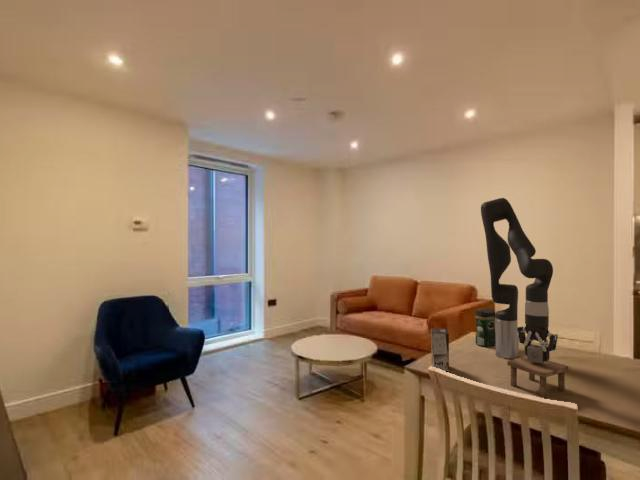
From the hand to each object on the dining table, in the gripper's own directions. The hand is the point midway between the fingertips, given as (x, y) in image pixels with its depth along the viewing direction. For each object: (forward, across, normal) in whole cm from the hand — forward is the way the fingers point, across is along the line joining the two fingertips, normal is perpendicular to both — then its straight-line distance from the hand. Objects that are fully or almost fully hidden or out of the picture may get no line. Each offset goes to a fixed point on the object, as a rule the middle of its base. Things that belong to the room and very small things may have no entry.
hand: (536, 358), depth 135 cm
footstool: (+11, 0, 0) cm, 11 cm away
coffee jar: (+11, -44, +28) cm, 53 cm away
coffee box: (+11, -32, -16) cm, 37 cm away
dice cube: (+1, 0, 0) cm, 1 cm away
